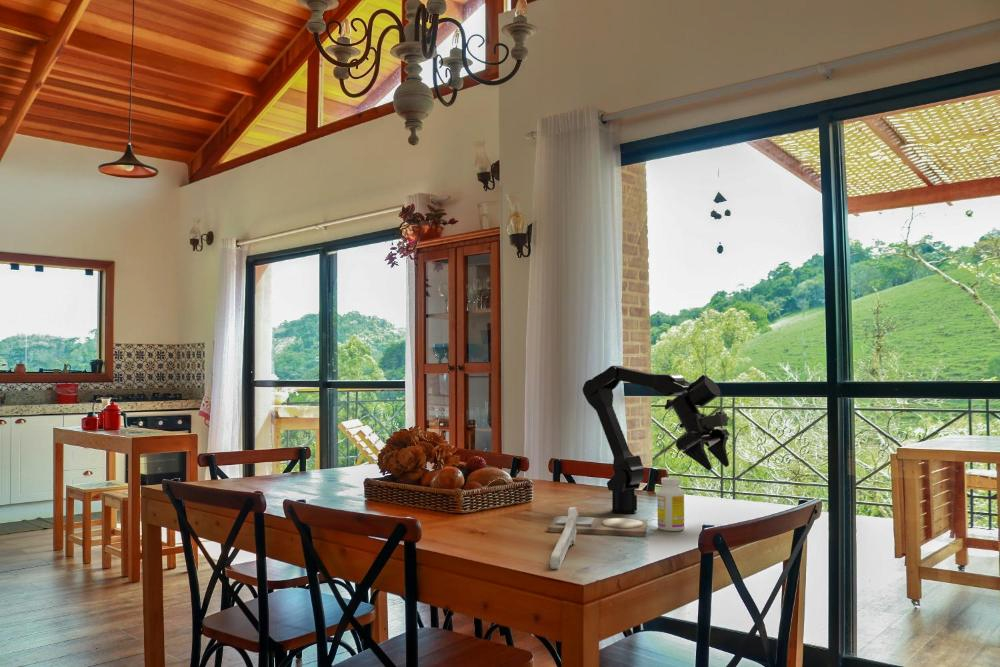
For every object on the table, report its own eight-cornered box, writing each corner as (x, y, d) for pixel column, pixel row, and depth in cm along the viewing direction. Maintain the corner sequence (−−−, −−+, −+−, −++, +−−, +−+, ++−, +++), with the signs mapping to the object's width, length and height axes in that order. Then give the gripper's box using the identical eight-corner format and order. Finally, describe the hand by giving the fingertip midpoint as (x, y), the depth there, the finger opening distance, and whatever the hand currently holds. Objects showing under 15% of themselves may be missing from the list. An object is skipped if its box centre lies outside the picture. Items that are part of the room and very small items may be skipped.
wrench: (550, 583, 170) (571, 536, 200) (559, 584, 170) (579, 537, 199) (549, 545, 170) (570, 503, 199) (558, 546, 169) (578, 504, 198)
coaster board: (547, 532, 207) (548, 524, 207) (555, 520, 222) (555, 513, 222) (645, 536, 202) (645, 529, 202) (647, 524, 217) (647, 517, 217)
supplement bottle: (686, 528, 213) (686, 477, 213) (681, 532, 207) (681, 480, 207) (661, 525, 216) (660, 475, 216) (654, 530, 210) (654, 479, 210)
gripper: (694, 401, 211) (725, 455, 204) (729, 399, 224) (759, 450, 218) (662, 423, 217) (691, 477, 211) (698, 420, 231) (727, 470, 224)
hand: (719, 467), depth 216 cm, fingers open, 9 cm apart
